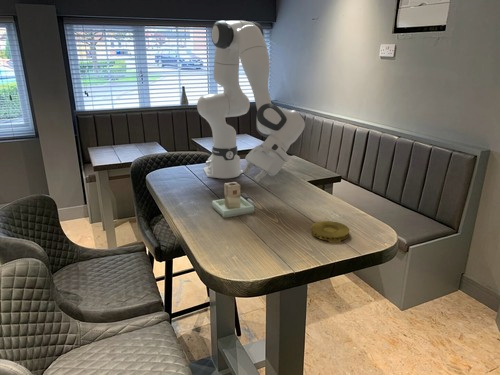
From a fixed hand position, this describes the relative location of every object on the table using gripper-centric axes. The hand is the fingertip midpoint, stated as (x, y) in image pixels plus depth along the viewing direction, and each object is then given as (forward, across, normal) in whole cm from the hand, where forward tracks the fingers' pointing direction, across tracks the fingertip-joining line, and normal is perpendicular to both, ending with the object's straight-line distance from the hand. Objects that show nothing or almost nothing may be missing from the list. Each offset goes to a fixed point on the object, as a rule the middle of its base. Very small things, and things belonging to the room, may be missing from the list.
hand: (249, 176), depth 140 cm
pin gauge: (+7, -6, +10) cm, 14 cm away
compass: (-1, +33, +18) cm, 38 cm away
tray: (+14, 0, +3) cm, 14 cm away
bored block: (+13, 0, +3) cm, 13 cm away
